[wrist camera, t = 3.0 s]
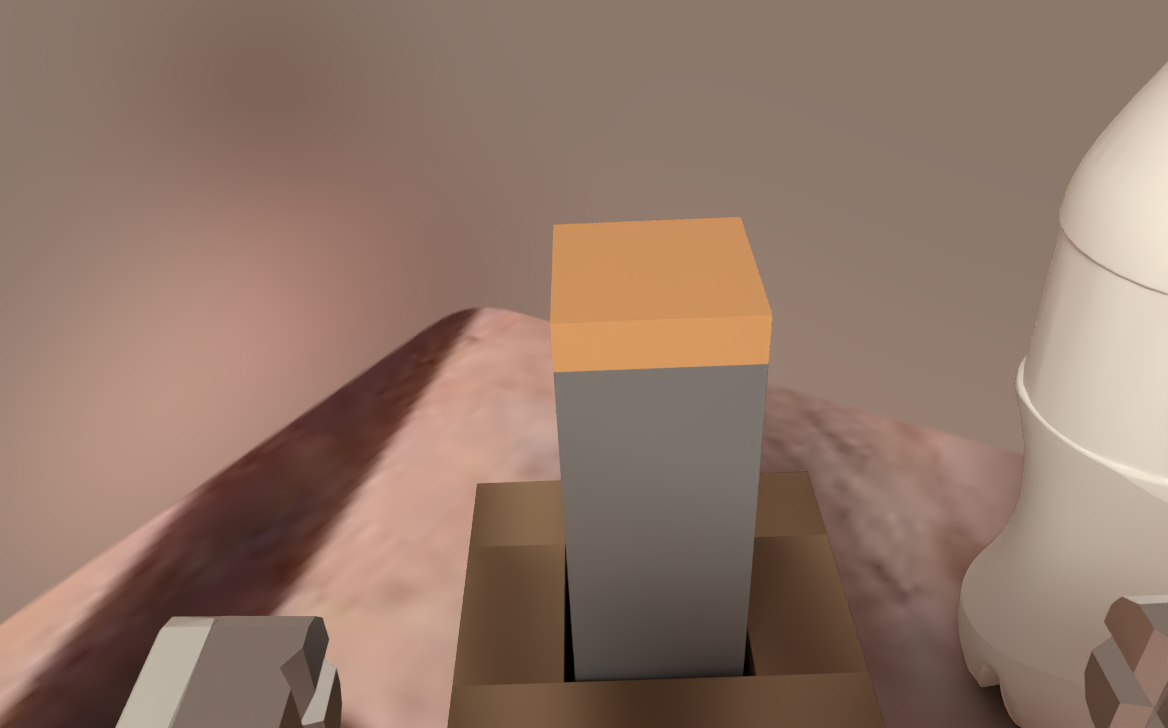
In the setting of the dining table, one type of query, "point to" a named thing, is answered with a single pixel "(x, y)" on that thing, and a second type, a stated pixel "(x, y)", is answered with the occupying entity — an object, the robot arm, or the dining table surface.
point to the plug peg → (659, 441)
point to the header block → (661, 706)
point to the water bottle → (1085, 435)
